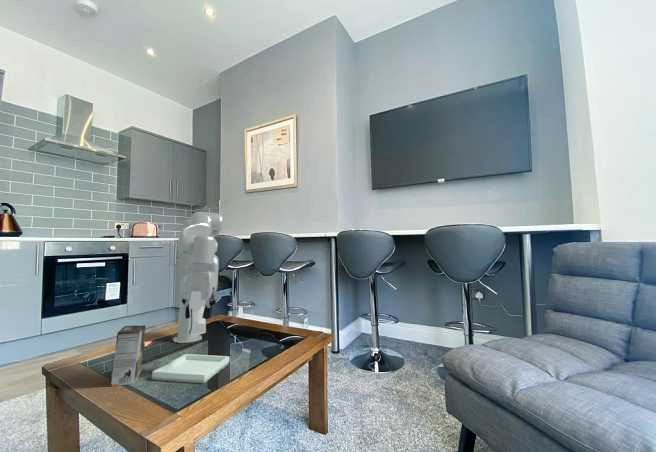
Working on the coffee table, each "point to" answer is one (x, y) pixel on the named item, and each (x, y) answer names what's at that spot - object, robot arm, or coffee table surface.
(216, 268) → the robot arm
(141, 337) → the coffee box
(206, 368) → the tray
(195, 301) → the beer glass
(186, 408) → the coffee table surface
